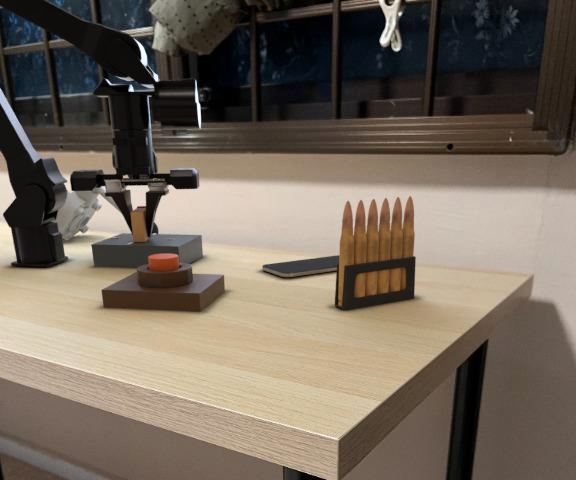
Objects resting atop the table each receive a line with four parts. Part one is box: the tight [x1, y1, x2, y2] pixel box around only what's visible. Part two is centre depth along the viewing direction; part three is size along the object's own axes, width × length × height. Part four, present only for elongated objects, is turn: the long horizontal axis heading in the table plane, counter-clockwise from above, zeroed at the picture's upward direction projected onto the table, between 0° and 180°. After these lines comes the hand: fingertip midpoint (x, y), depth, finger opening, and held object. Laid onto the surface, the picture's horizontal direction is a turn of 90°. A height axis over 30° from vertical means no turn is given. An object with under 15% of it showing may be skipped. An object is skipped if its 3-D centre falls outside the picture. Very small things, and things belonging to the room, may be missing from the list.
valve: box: [51, 186, 159, 242], centre depth 117 cm, size 10×20×15 cm
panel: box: [91, 232, 204, 269], centre depth 97 cm, size 14×11×4 cm
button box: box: [101, 262, 226, 313], centre depth 75 cm, size 12×10×4 cm
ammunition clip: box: [334, 195, 417, 311], centre depth 71 cm, size 11×2×12 cm, turn 120°
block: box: [131, 205, 149, 242], centre depth 96 cm, size 6×2×5 cm, turn 4°
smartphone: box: [261, 254, 339, 278], centre depth 91 cm, size 7×1×15 cm
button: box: [148, 253, 179, 271], centre depth 74 cm, size 4×4×2 cm
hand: (142, 236), depth 96 cm, fingers closed, pressing on block
